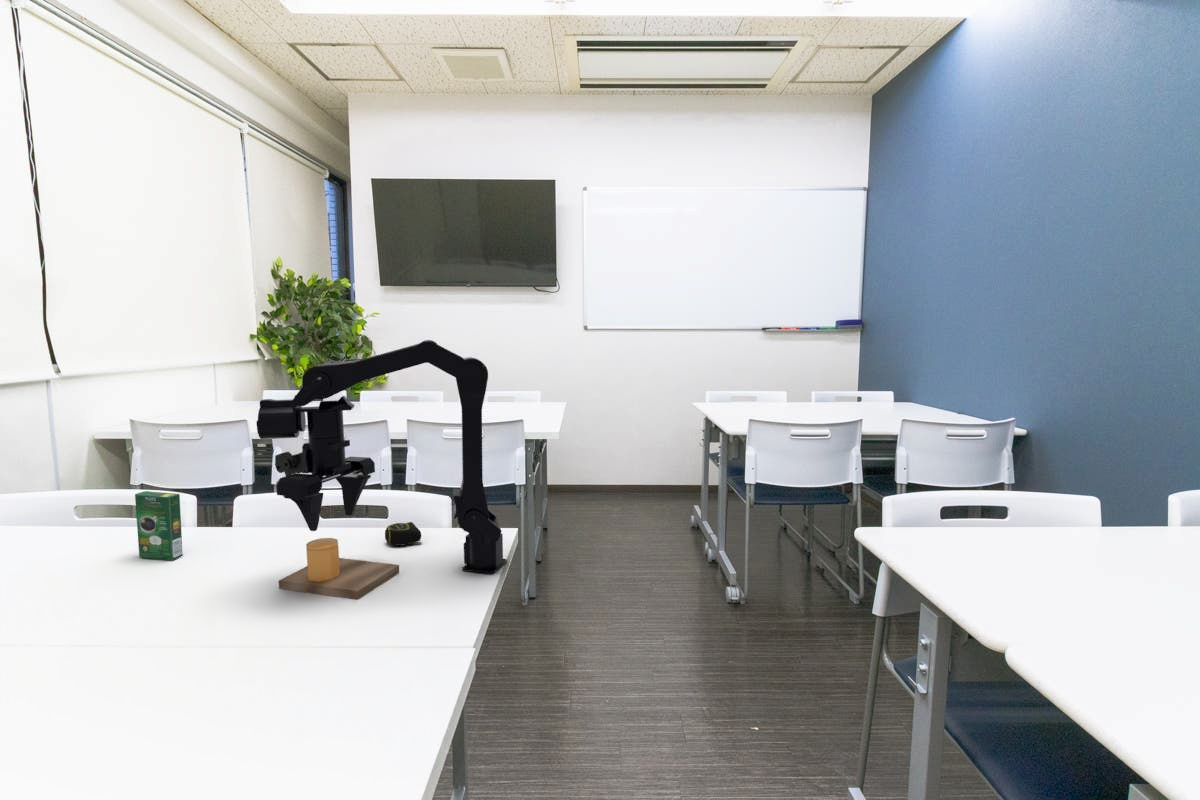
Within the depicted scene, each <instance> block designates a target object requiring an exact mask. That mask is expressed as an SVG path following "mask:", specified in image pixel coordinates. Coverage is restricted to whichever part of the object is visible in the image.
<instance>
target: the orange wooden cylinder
mask: <svg viewBox="0 0 1200 800" xmlns="http://www.w3.org/2000/svg"><path fill="white" fill-rule="evenodd" d="M338 540H339V539H337V538H333V537H321V538H318V539H313V540H310V541H309V542H307V543H306V546H305V547H306V564H307V565H306V566H307V568H308V578H309V580H311V581H324V580H330V579H333V578H335V577H337V576H338V575H340V569H339V558H340V553H339V550H340V549H339V541H338Z"/></svg>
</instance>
